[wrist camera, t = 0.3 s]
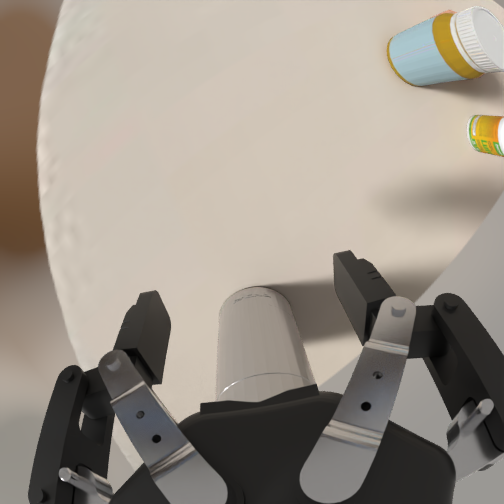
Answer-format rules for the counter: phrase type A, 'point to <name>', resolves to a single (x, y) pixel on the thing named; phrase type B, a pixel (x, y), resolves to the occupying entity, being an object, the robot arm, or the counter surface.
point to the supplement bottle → (486, 134)
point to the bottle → (449, 48)
